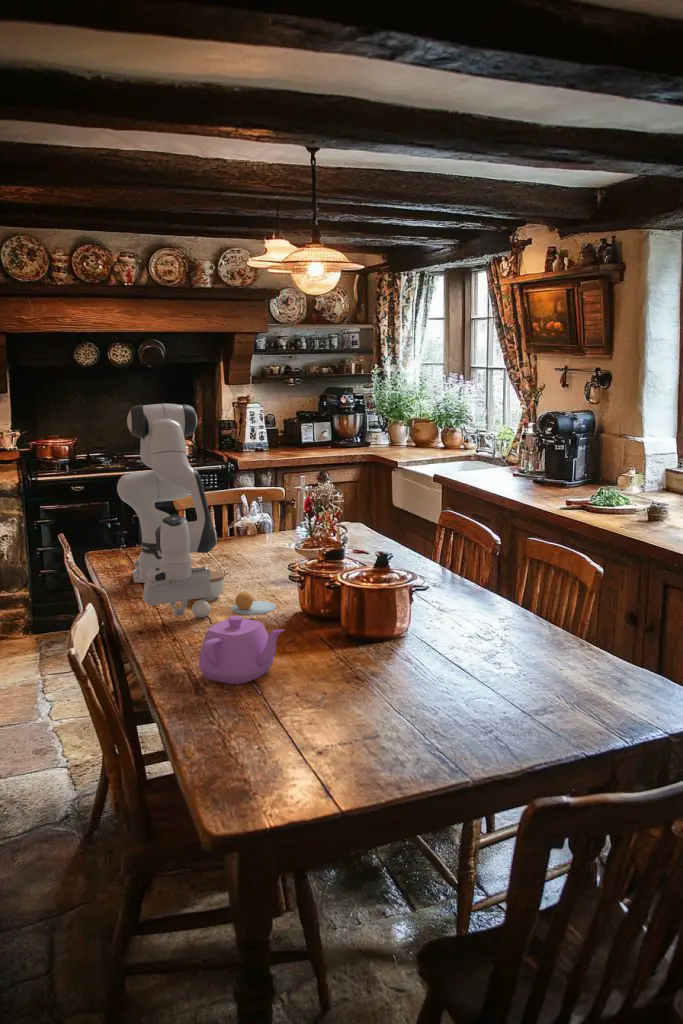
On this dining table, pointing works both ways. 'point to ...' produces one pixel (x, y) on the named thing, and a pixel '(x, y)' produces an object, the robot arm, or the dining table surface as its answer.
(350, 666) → the dining table surface
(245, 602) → the object ball
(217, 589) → the lidded jar
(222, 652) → the teapot
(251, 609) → the gray disc
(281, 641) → the dining table surface
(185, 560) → the robot arm
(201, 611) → the cue ball
